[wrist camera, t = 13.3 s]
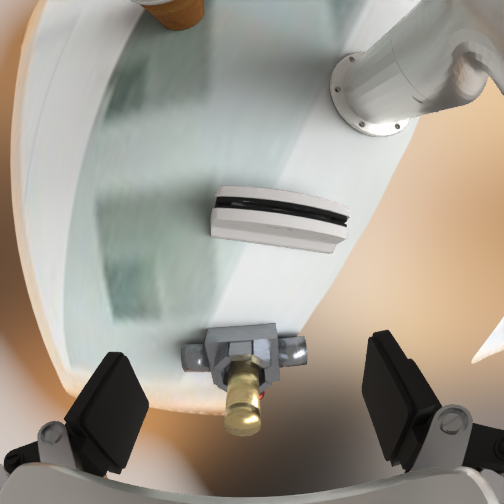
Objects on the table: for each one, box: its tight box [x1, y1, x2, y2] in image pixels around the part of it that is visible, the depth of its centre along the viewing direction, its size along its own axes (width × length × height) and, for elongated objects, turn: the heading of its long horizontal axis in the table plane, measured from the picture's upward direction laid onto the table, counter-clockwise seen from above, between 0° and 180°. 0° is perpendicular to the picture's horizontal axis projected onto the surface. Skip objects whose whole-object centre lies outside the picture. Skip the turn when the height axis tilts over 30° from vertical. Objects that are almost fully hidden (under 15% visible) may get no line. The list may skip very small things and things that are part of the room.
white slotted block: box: [211, 186, 350, 254], centre depth 33 cm, size 17×5×10 cm, turn 82°
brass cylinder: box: [224, 360, 261, 436], centre depth 32 cm, size 4×4×12 cm
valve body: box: [181, 323, 307, 400], centre depth 39 cm, size 18×12×7 cm, turn 95°
